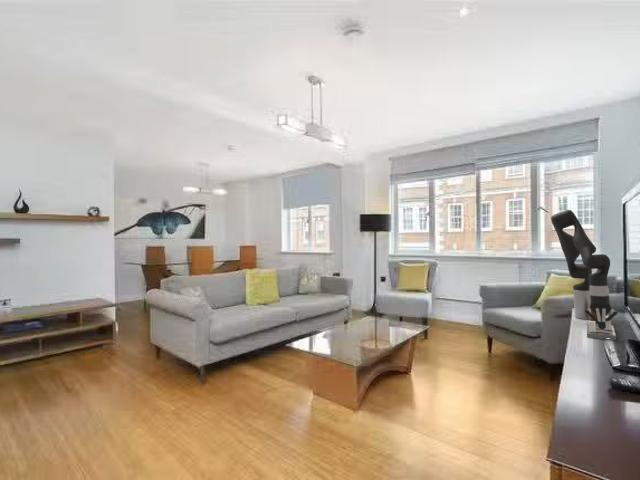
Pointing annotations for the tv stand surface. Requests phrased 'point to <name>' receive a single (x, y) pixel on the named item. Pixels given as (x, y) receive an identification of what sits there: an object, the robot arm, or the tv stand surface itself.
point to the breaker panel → (601, 333)
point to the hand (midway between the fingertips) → (602, 329)
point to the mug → (596, 317)
